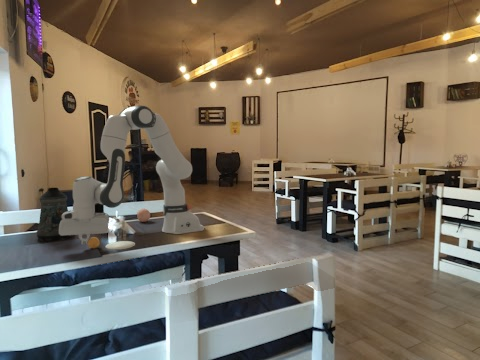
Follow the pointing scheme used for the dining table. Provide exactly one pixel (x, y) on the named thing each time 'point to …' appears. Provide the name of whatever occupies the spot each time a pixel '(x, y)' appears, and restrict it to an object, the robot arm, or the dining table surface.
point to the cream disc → (120, 245)
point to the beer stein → (51, 215)
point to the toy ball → (143, 215)
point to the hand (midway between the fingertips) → (84, 243)
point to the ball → (93, 242)
